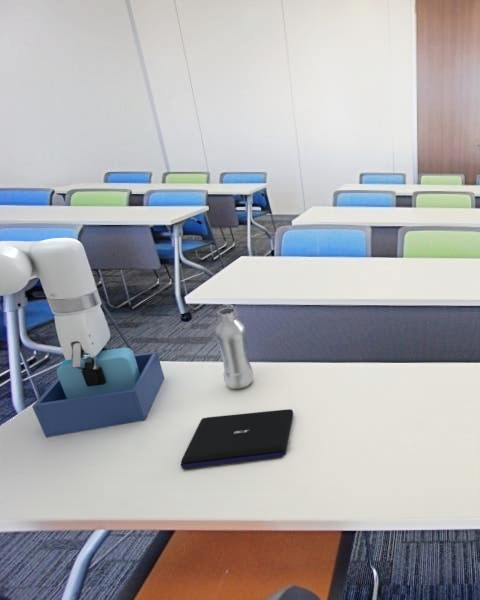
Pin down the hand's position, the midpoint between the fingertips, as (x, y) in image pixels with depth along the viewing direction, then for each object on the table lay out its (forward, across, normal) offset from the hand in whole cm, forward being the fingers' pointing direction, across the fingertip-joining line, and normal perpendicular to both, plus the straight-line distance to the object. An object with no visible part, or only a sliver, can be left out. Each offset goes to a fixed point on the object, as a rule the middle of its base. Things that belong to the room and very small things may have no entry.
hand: (101, 376), depth 87 cm
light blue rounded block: (+7, 0, 0) cm, 7 cm away
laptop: (+8, +21, +28) cm, 36 cm away
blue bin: (+7, 0, 0) cm, 7 cm away
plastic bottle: (+8, 0, +26) cm, 27 cm away
